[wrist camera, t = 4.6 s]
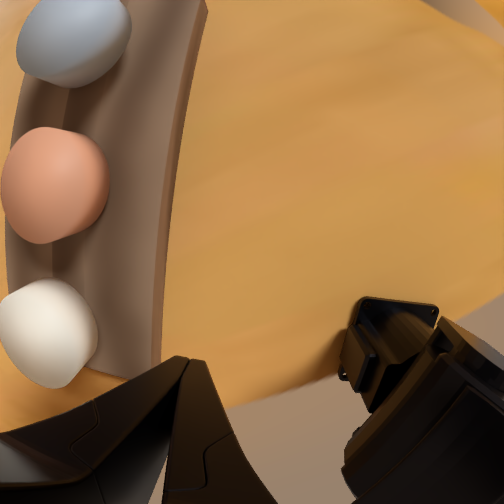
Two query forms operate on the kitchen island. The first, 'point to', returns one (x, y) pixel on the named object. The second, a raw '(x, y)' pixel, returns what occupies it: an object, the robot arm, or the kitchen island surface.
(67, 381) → the cream white rounded ball
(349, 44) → the kitchen island surface
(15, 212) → the peach rounded lump
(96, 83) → the button board
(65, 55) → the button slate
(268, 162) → the kitchen island surface
